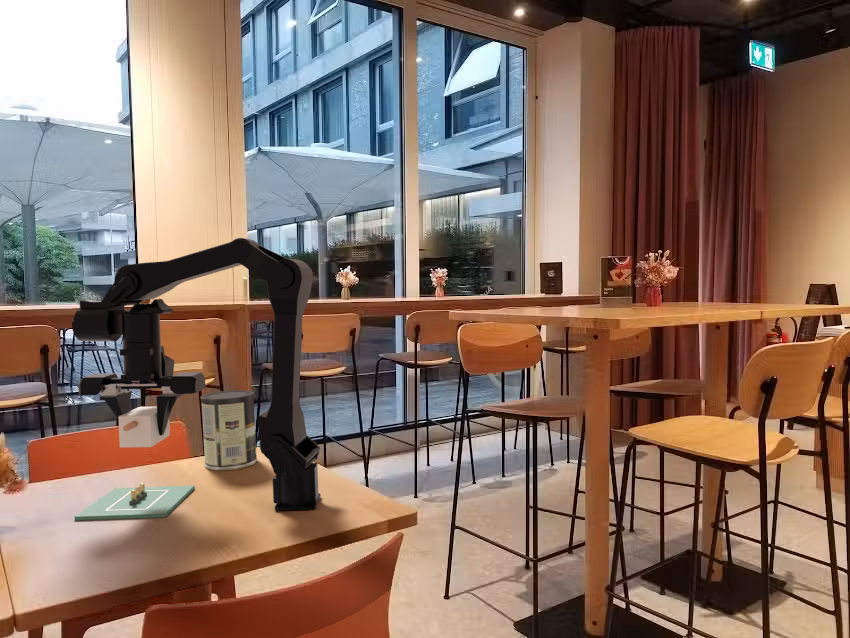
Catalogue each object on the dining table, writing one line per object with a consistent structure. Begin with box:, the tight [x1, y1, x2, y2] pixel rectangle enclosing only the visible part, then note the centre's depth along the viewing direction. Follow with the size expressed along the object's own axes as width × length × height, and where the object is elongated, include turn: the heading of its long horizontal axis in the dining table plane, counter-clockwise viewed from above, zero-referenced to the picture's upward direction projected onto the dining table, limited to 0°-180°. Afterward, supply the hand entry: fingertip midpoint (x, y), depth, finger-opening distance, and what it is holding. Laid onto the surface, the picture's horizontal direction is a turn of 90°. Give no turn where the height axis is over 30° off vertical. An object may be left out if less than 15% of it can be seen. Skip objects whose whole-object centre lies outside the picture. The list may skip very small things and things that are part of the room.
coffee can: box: [200, 389, 258, 471], centre depth 132 cm, size 10×10×14 cm
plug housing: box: [118, 406, 171, 449], centre depth 107 cm, size 5×12×5 cm, turn 1°
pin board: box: [73, 482, 196, 521], centre depth 109 cm, size 14×14×3 cm
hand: (145, 435), depth 108 cm, fingers closed on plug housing, 5 cm apart
